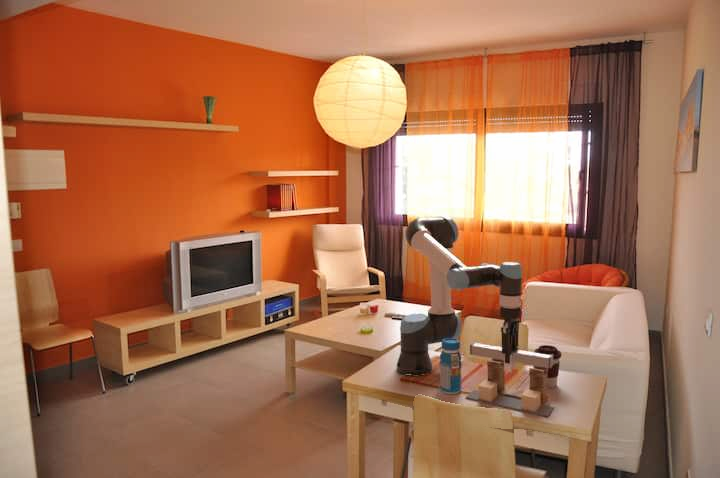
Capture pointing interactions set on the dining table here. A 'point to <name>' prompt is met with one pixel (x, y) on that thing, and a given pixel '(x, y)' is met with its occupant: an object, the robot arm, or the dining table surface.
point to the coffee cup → (554, 369)
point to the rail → (517, 355)
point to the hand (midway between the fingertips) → (509, 369)
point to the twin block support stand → (510, 399)
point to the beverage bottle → (450, 366)
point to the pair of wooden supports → (536, 384)
